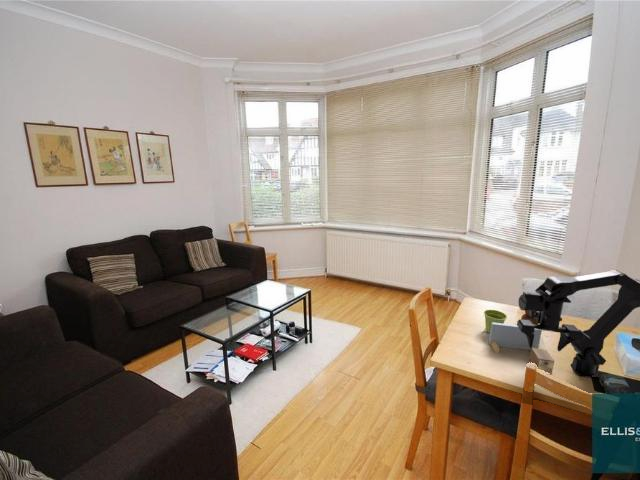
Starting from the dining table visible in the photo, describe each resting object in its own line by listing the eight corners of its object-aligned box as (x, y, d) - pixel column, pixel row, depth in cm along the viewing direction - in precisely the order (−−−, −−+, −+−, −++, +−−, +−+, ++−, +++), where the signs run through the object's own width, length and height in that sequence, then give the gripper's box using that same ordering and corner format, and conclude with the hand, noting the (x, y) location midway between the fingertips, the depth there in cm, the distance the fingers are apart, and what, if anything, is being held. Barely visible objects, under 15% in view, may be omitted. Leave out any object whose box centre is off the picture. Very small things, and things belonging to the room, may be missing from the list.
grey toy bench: (536, 349, 128) (540, 328, 126) (542, 358, 122) (546, 336, 120) (488, 342, 133) (491, 322, 130) (492, 351, 127) (495, 330, 124)
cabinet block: (543, 363, 120) (546, 349, 118) (551, 375, 113) (554, 361, 111) (529, 360, 121) (531, 347, 120) (536, 373, 114) (539, 359, 113)
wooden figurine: (537, 330, 142) (543, 300, 138) (535, 335, 138) (541, 305, 134) (520, 325, 146) (525, 296, 143) (518, 330, 142) (523, 300, 138)
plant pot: (477, 328, 144) (479, 312, 142) (489, 323, 148) (492, 307, 146) (495, 338, 136) (498, 321, 134) (508, 333, 140) (511, 316, 138)
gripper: (570, 304, 116) (563, 340, 120) (515, 299, 121) (509, 333, 125) (586, 318, 106) (577, 357, 110) (525, 312, 111) (518, 349, 115)
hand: (544, 348), depth 115 cm, fingers open, 9 cm apart
